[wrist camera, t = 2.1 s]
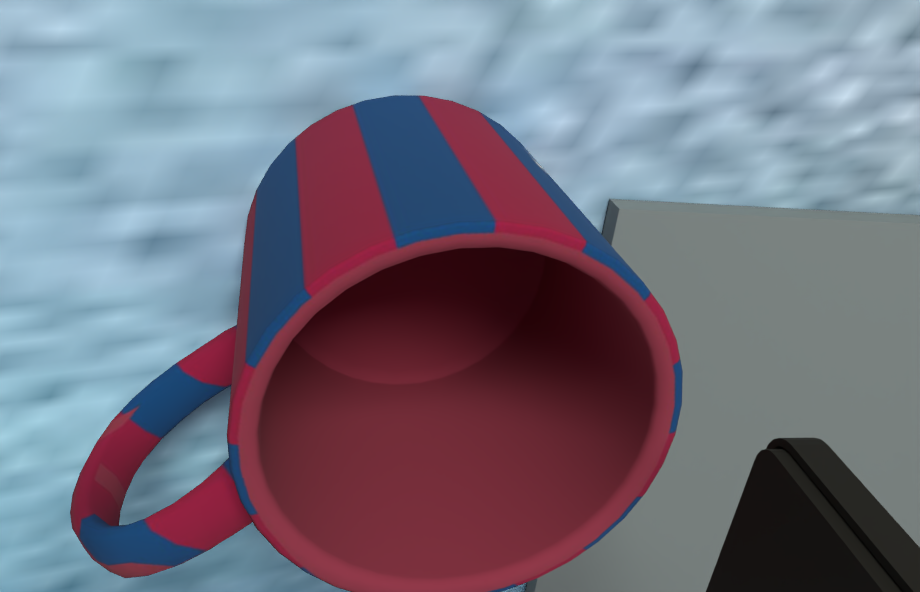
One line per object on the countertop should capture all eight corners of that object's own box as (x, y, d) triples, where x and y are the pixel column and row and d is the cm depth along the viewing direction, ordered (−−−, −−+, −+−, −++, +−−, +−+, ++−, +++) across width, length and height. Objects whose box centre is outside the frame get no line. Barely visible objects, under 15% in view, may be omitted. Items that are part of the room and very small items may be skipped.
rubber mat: (854, 730, 30) (865, 745, 30) (486, 772, 27) (490, 789, 26) (1111, 225, 21) (1131, 234, 21) (610, 198, 18) (619, 208, 18)
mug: (577, 324, 20) (707, 522, 14) (174, 460, 19) (128, 725, 13) (515, 50, 16) (651, 154, 10) (27, 206, 16) (-122, 408, 10)
